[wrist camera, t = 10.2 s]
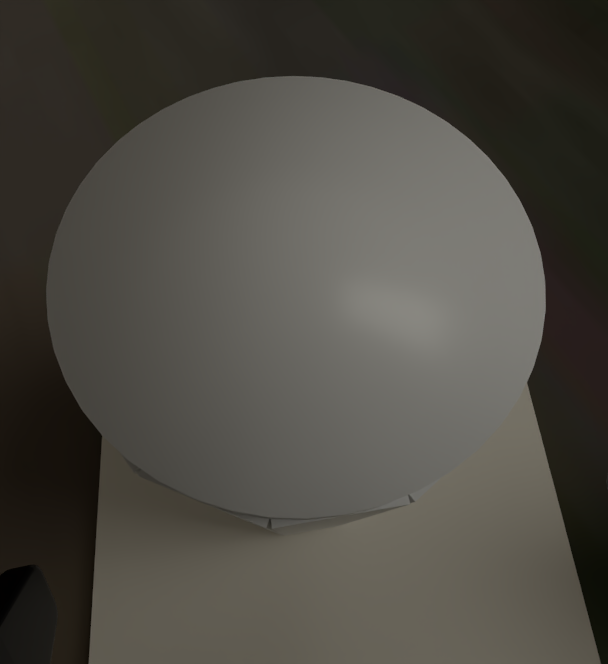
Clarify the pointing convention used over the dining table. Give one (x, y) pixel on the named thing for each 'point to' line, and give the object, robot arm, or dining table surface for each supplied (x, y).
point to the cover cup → (296, 300)
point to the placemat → (346, 573)
